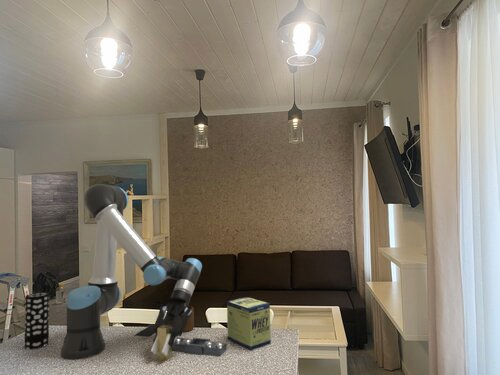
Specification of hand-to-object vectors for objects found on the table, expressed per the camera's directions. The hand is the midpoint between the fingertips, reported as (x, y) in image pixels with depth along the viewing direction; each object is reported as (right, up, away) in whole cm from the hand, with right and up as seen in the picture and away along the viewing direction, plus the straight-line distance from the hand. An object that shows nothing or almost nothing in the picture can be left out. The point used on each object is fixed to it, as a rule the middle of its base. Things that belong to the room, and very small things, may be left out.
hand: (158, 353), depth 121 cm
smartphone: (-12, -7, +32) cm, 35 cm away
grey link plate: (+12, -4, +10) cm, 16 cm away
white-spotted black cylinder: (-54, -6, +19) cm, 58 cm away
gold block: (+1, -3, +3) cm, 5 cm away
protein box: (+31, -4, +17) cm, 36 cm away
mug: (+3, -6, +31) cm, 32 cm away
